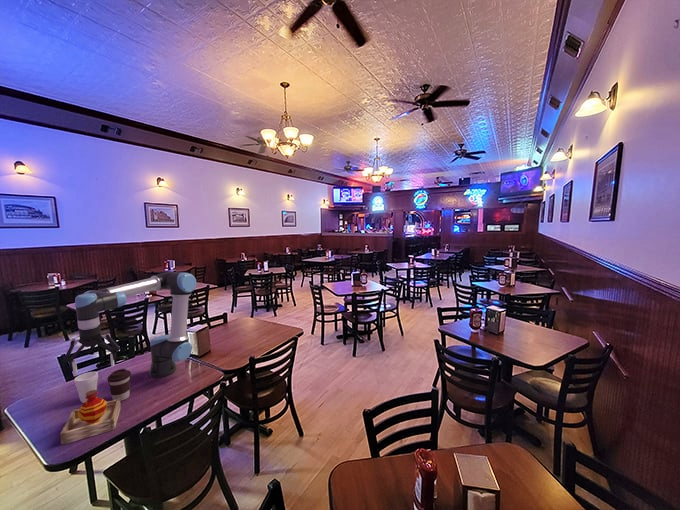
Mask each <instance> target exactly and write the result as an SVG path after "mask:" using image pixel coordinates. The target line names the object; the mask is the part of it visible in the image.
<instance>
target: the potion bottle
mask: <svg viewBox="0 0 680 510" xmlns="http://www.w3.org/2000/svg"><path fill="white" fill-rule="evenodd" d="M98 394H99V392H98V389H97V390H92V391H89V392H87V393H86V399H87V401H86V402H84V403H82V404H81V405H80V407H79V408H78V409H79V410H78V413H77V414H78V415H77V416H78V418H80V419H81V420H83V421H85V422H88V423H87V425H86V426H88V425H91V424H95V423H98V422H100V421H101V419H99V418H101V417H102V415H104V413H105V412H106V409H107V407H106V406H107V404H106V402H107V400H105V399H104V398H102V397H99V396H98Z"/></svg>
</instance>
